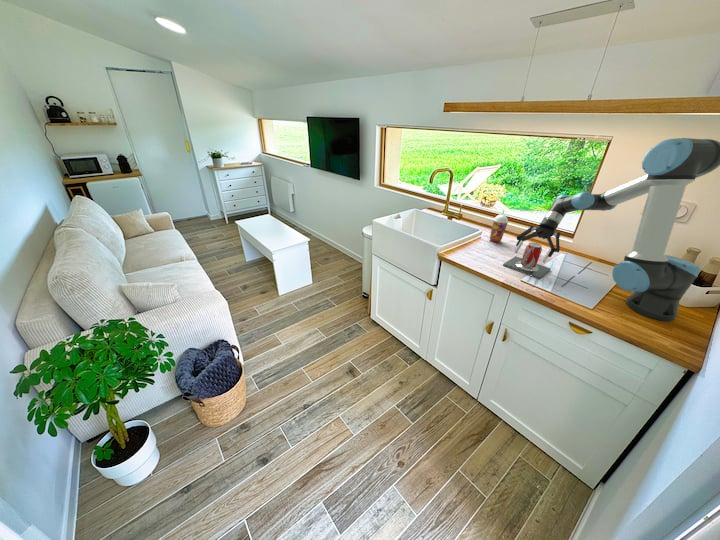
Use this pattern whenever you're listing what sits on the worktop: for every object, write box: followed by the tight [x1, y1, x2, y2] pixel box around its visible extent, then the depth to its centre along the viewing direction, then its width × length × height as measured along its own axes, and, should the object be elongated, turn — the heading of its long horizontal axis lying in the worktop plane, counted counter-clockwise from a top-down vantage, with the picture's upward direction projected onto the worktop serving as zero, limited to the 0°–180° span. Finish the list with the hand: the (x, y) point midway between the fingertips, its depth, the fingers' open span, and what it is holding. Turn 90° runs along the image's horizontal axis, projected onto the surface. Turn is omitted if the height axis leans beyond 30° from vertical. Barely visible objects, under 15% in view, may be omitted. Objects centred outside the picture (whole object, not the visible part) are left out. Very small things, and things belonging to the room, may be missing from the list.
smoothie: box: [489, 209, 509, 244], centre depth 173 cm, size 8×8×20 cm
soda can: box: [521, 242, 543, 268], centre depth 142 cm, size 7×7×12 cm
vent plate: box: [502, 255, 552, 280], centre depth 146 cm, size 18×15×1 cm
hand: (529, 256), depth 141 cm, fingers open, 13 cm apart
